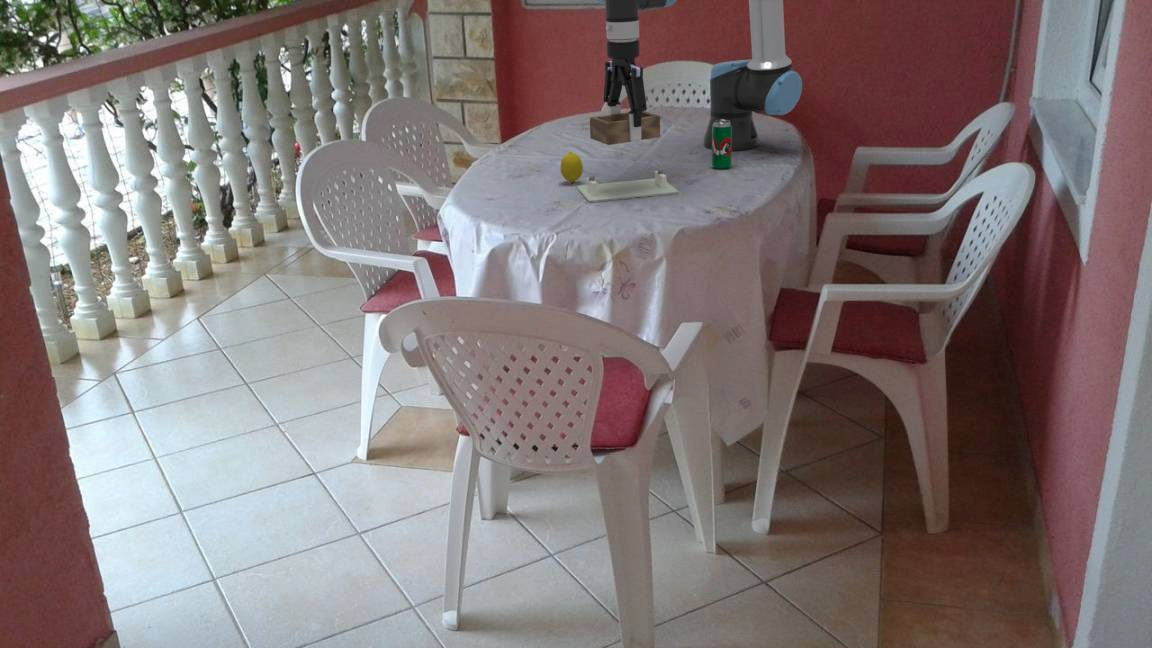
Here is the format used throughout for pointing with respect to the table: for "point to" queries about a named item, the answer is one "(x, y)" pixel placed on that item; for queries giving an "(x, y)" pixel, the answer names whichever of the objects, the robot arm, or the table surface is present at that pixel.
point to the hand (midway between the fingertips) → (625, 136)
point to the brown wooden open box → (622, 127)
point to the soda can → (722, 144)
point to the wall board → (627, 188)
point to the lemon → (571, 167)
